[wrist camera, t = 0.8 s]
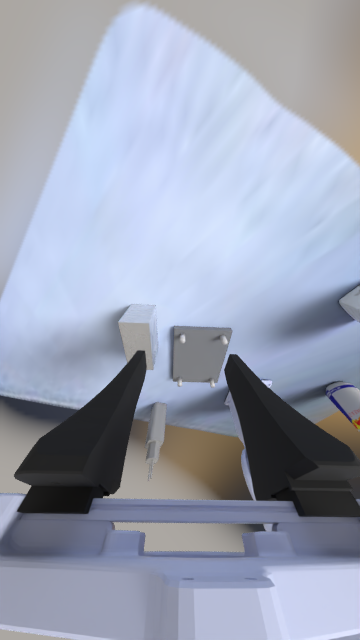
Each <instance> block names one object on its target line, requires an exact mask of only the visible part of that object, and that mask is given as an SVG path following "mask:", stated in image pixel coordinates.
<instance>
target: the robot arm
mask: <svg viewBox="0 0 360 640" xmlns="http://www.w3.org/2000/svg"><path fill="white" fill-rule="evenodd" d="M146 369H147V364H146V354H145V351H143V350H138V351H136V353H135V354H134V355H133V357H132V358H131V359H130V361H129V362H128V363H127V364H126V366H125V367H124V368H123V369H122V370H121V371H120V373H119V374H118V375H117V376H116V377H115V378H114V379H113V380H112V381H111V382H110V383H109V384H108V385H107V386H106V387H105V388H104V389H103V390H102V391H101V392H100V393H99V394H98V395H96V396H95V397H94V398H93V399H92V400H91V401H90V402H88V403H87V404H86V405H85V406H84V407H82V408H81V409H80V410H78V411H77V412H76V413H75V414H73V415H72V416H71V417H69V418H68V419H67V420H66V421H64V422H63V423H61V424H60V425H59V426H57V427H56V428H54V429H53V430H51V431H50V432H48V433H47V434H46V435H44V436H43V437H41V438H40V439H39V440H38V442H37V443H36V444H35V445H34V447H33V448H32V449H31V451H30V452H29V454H28V455H27V457H26V458H25V459H24V461H23V462H22V464H21V465H20V467H19V468H18V469H17V471H16V472H15V474H14V477H15V479H17V480H19V481H22V482H24V483H27V484H29V485H31V488H30V490H29V491H28V493H27V494H19V493H0V629H4V630H10V631H18V632H25V633H32V634H39V635H46V636H53V637H61V638H68V639H75V640H360V499H356V500H355V498H354V497H353V495H352V494H351V492H350V491H353V488H352V487H351V485H350V484H349V482H348V481H347V480H350V479H353V478H356V477H359V476H360V460H359V459H358V458H357V456H356V455H355V454H354V453H353V451H352V450H351V449H350V448H349V447H348V446H347V445H346V444H344V443H342V442H341V441H339V440H338V439H336V438H335V437H333V436H332V435H330V434H328V433H327V432H325V431H324V430H322V429H321V428H319V427H318V426H317V425H315V424H314V423H312V422H311V421H309V420H308V419H307V418H305V417H304V416H303V415H301V414H300V413H299V412H297V411H296V410H295V409H293V408H292V407H291V406H289V405H288V404H287V403H286V402H284V401H283V400H282V399H281V398H280V397H279V396H277V395H276V394H275V393H274V392H273V391H272V390H271V389H270V388H269V387H270V386H271V384H272V381H271V380H260V379H259V378H258V377H257V376H256V375H255V374H254V373H253V372H252V371H251V369H250V368H249V367H248V366H247V365H246V364H245V363H244V362H243V361H242V360H241V359H240V357H239V356H238V355H236V354H230V355H229V358H228V361H227V364H226V367H225V370H224V371H225V376H226V381H227V384H228V387H229V393H228V395H227V398H226V400H225V405H229V407H230V410H231V414H232V417H233V421H234V424H235V428H236V431H237V434H238V437H239V438H240V440H241V441H242V442H243V444H244V447H245V449H244V450H243V451H242V456H241V462H242V468H243V473H244V476H245V480H246V483H247V486H248V488H249V491H250V493H251V496H252V498H253V499H254V501H239V500H172V499H105V498H103V496H109V495H110V494H114V493H115V492H116V491H117V490H118V489H119V487H120V482H121V477H122V472H123V466H124V460H125V456H126V450H127V445H128V440H129V435H130V431H131V426H132V421H133V417H134V412H135V409H136V405H137V402H138V399H139V395H140V392H141V389H142V386H143V382H144V379H145V374H146ZM112 522H142V523H144V522H145V523H152V522H153V523H237V524H244V523H245V524H263V525H264V528H265V530H266V531H267V532H253V533H243V534H242V539H243V543H244V548H245V552H205V551H203V552H202V551H159V552H158V551H154V552H153V551H150V552H149V551H147V552H146V551H145V552H144V542H145V533H143V532H140V531H125V530H124V531H123V530H115V526H114V523H112Z"/></svg>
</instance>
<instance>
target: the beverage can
mask: <svg viewBox="0 0 360 640" xmlns="http://www.w3.org/2000/svg"><path fill="white" fill-rule="evenodd" d="M326 395H327V397H328V398H329V399H330V400H331V401H332V402H333V403H334V404H335V405H336V407H337V408H338V409H339V410H340V411H341V412H342V413H343V414H344V415H345V416H346V417H347V418H348V420H349V421H350V422H351V423H352V424H353V425H354V426H355V427H356V428H357V429H358V430H359V432H360V390H358V389H357V388H356V387H355V386H354V385H352V384H350V383H345V382H336V383H333V384H331V385H329V386H328V387H327V388H326Z"/></svg>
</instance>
